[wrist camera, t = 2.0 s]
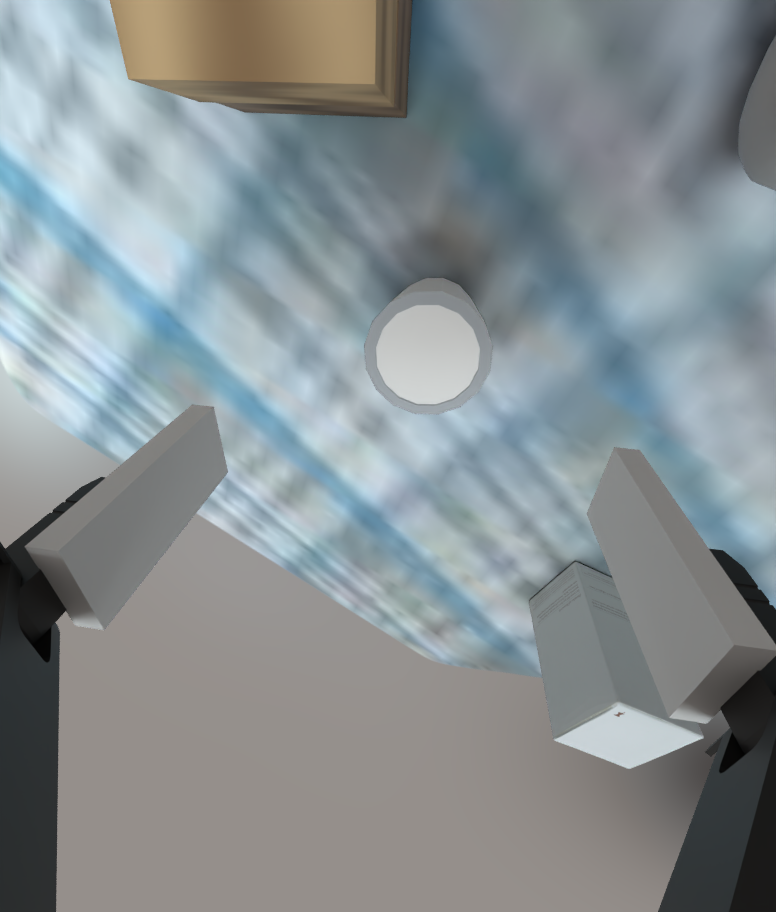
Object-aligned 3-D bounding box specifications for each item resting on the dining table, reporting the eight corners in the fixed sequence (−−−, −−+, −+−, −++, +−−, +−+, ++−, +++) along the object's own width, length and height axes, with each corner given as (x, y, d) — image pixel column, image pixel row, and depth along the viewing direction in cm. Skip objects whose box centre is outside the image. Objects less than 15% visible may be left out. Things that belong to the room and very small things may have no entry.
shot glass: (499, 278, 26) (511, 305, 20) (469, 378, 29) (472, 426, 24) (391, 256, 26) (372, 278, 20) (376, 359, 30) (356, 402, 24)
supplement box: (526, 600, 41) (548, 740, 31) (575, 558, 37) (620, 703, 27) (586, 628, 42) (628, 772, 32) (641, 589, 38) (709, 740, 28)
